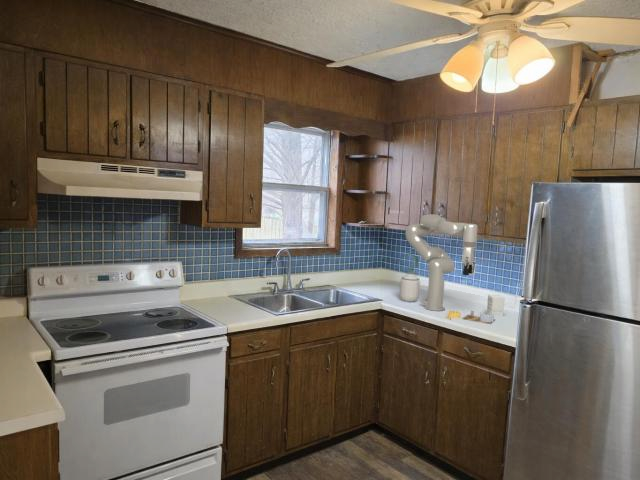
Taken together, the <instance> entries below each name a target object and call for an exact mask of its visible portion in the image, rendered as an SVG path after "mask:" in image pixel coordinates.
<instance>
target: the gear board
mask: <svg viewBox="0 0 640 480" xmlns="http://www.w3.org/2000/svg"><path fill="white" fill-rule="evenodd" d="M474 311H475V310H474ZM474 311H473V310H471V311H470V314H467V315H466V316H463V317H462V318H461V320H464V321H471V322H477V323H481V324H486V325H492V324H493V323H494V322H495V321H496V319H494V321H493V322H484V321H480V316H478V315H475V314H474ZM485 312H486V314H489V311H487V310H485Z"/></svg>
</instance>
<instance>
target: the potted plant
mask: <svg viewBox="0 0 640 480" xmlns="http://www.w3.org/2000/svg"><path fill="white" fill-rule="evenodd" d="M407 256H408V257H410V258H412V259H414V262H413V263H414V264H413V266H406V267H405V268H406V269H408V271H407V272H406V274H404V275H403V276H401V279H400V286H399V297H400V300H402V302H404V303H405V302H407V303H415V302H417V301H418V300H419V296H420V284H421V283H420V282H421V281H420V278H419V277H418V276H417V275H416V274H415V272H414V270H415V269H417V268H418V267H419V266H418V265H419V257H418V256H416V255H414V254H411V253H408V254H407Z"/></svg>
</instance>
